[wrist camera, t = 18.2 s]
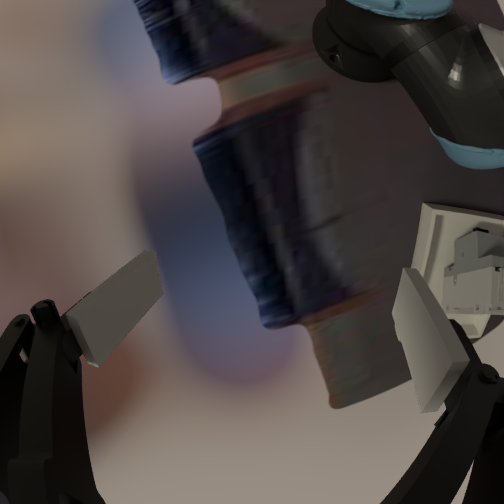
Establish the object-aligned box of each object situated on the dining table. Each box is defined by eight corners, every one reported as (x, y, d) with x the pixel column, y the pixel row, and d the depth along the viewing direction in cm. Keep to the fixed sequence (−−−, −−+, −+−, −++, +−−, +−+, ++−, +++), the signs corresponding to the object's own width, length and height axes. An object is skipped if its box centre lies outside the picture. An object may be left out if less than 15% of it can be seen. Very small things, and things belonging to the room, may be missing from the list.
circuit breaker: (472, 241, 40) (517, 221, 26) (469, 314, 38) (518, 314, 23) (444, 236, 42) (489, 212, 27) (440, 312, 39) (489, 313, 25)
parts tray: (422, 202, 38) (432, 208, 34) (506, 216, 34) (518, 223, 30) (394, 327, 48) (398, 341, 44) (472, 325, 44) (480, 337, 40)
